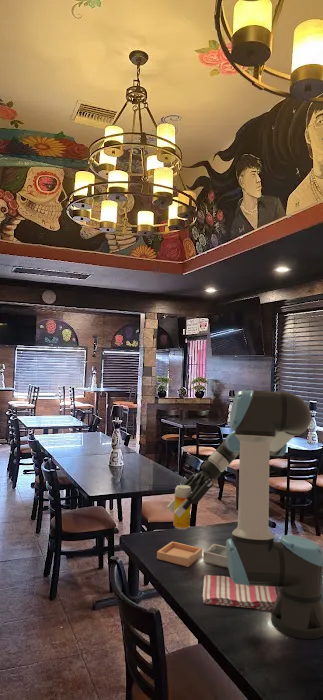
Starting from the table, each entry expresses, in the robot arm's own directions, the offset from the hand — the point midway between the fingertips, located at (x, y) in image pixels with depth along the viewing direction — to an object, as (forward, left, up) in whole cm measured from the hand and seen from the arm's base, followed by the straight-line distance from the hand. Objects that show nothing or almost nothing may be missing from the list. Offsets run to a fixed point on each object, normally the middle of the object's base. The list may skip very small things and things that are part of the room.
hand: (173, 511), depth 178 cm
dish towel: (-14, -31, -17) cm, 38 cm away
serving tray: (+2, -3, -17) cm, 17 cm away
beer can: (+3, -2, -6) cm, 7 cm away
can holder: (+8, -17, -17) cm, 25 cm away
